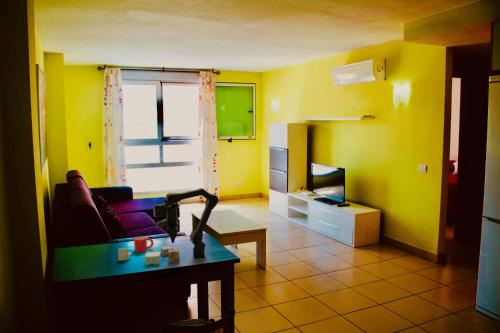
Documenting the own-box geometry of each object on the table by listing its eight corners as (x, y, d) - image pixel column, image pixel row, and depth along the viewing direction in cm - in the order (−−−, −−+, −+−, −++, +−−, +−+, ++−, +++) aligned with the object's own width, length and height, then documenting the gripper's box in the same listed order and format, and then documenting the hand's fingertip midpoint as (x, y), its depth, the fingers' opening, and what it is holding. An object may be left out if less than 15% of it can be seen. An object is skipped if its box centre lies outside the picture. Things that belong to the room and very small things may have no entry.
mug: (154, 250, 249) (153, 238, 248) (134, 252, 245) (134, 240, 244) (153, 246, 256) (152, 235, 255) (134, 248, 253) (133, 237, 252)
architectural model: (119, 259, 234) (118, 247, 233) (131, 258, 236) (130, 246, 235) (118, 261, 231) (117, 249, 230) (130, 260, 232) (130, 248, 232)
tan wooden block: (170, 251, 246) (170, 245, 246) (172, 254, 241) (172, 248, 240) (161, 253, 243) (160, 247, 243) (163, 256, 238) (162, 249, 238)
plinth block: (160, 259, 232) (160, 251, 231) (159, 264, 224) (159, 256, 223) (146, 260, 230) (146, 252, 230) (145, 265, 223) (145, 256, 222)
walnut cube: (179, 258, 233) (179, 248, 233) (179, 261, 227) (178, 251, 227) (169, 258, 232) (168, 249, 232) (168, 262, 227) (168, 252, 226)
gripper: (159, 212, 235) (160, 237, 237) (156, 219, 217) (157, 246, 219) (177, 210, 237) (179, 235, 238) (176, 218, 218) (177, 245, 220)
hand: (173, 240), depth 229 cm, fingers open, 9 cm apart
